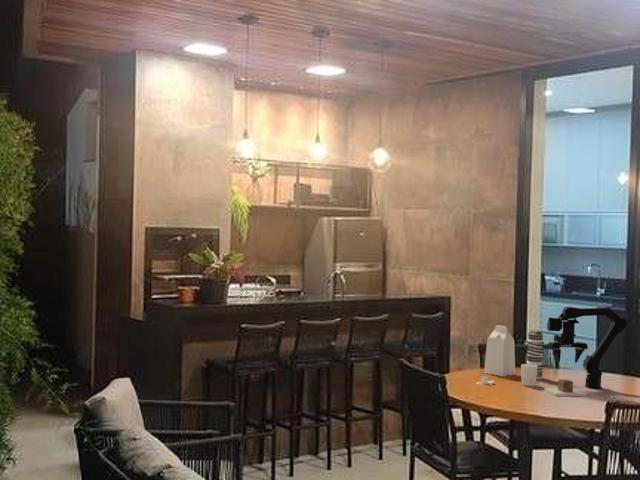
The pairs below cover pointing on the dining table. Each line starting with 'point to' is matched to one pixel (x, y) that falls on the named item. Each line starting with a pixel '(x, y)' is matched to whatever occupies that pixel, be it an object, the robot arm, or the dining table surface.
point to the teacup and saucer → (485, 380)
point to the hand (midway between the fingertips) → (567, 362)
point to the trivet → (559, 393)
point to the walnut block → (565, 385)
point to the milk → (500, 353)
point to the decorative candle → (535, 350)
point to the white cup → (528, 374)
